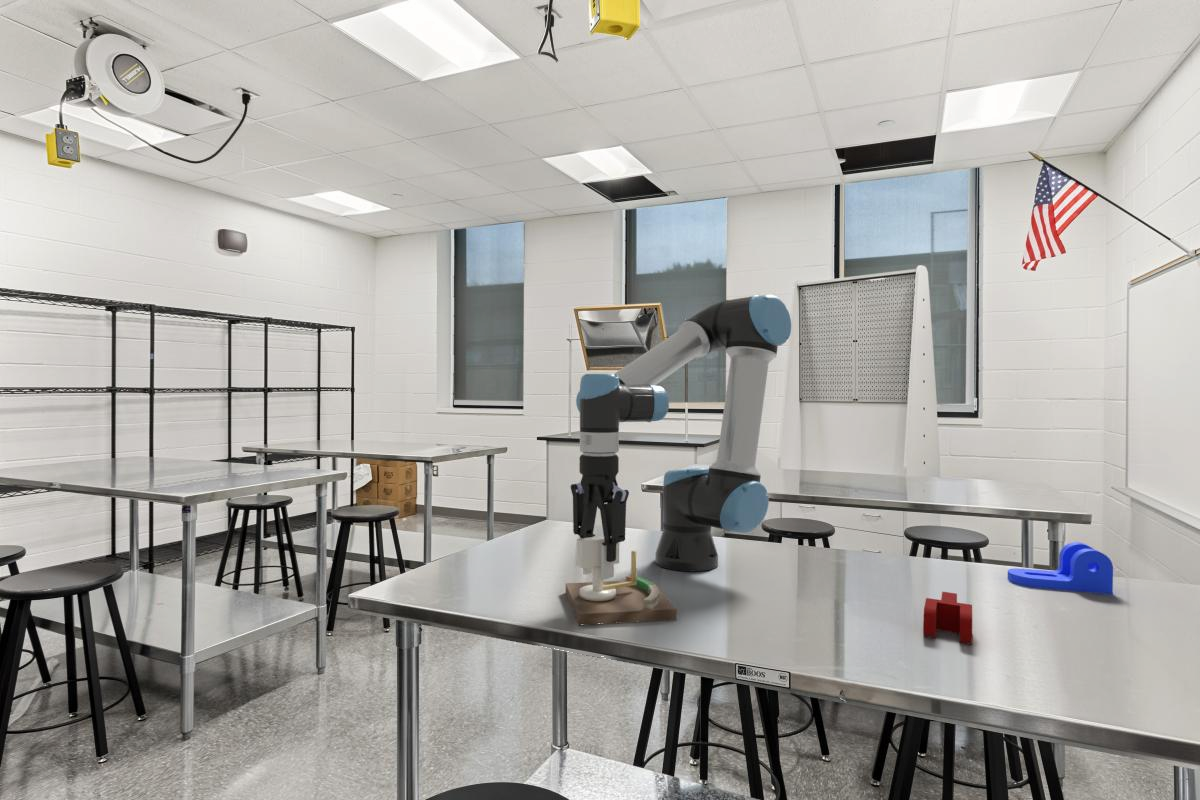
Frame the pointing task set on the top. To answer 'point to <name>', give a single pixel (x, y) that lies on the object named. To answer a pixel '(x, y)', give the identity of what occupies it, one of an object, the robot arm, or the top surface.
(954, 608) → the mechanical linkage
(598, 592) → the peg
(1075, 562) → the bracket
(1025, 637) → the top surface
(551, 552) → the top surface
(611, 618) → the wooden base board
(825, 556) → the top surface
